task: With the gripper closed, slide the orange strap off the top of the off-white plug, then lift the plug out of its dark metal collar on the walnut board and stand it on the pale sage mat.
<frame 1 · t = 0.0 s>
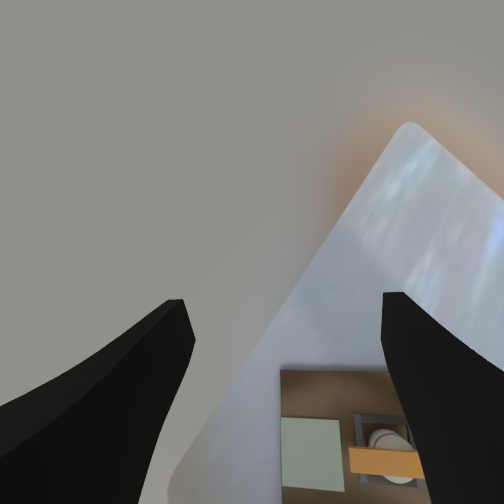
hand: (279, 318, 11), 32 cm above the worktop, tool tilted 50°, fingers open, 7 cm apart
board: (361, 443, 35), on the worktop
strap: (413, 463, 28), point 7 cm above the worktop, slide at 0.0 cm
plug: (385, 447, 34), point 1 cm above the worktop, touching board
sage mat: (310, 451, 35), resting on board
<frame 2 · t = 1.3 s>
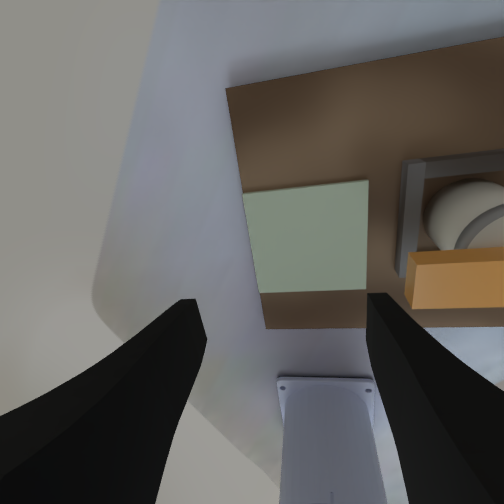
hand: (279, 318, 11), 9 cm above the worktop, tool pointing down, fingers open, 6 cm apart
board: (407, 212, 18), on the worktop
plug: (463, 214, 16), point 1 cm above the worktop, touching board
sage mat: (306, 241, 18), resting on board
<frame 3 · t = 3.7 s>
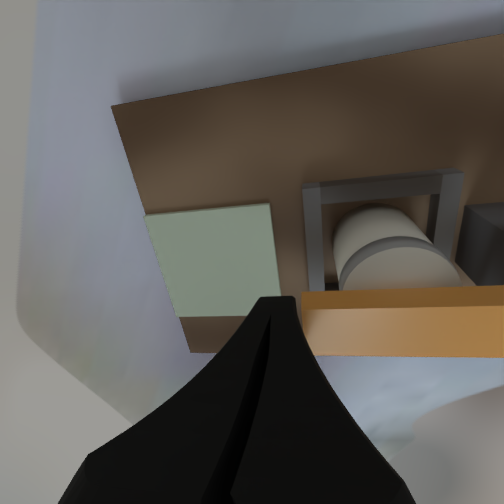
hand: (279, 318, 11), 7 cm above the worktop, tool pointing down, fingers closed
board: (321, 235, 16), on the worktop
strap: (491, 321, 9), point 7 cm above the worktop, slide at 1.0 cm, touching gripper
plug: (371, 240, 15), point 1 cm above the worktop, touching board
sage mat: (217, 265, 17), resting on board
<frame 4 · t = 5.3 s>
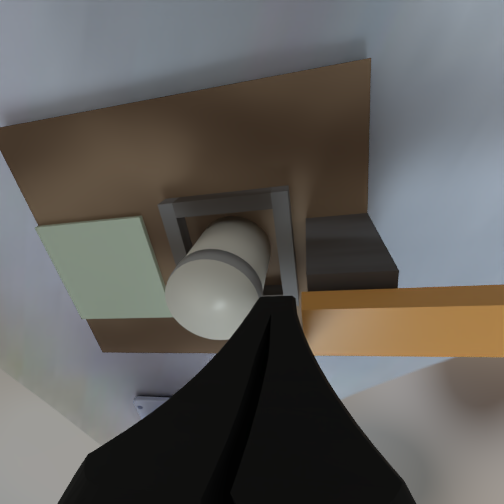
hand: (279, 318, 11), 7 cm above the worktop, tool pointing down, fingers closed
board: (199, 244, 18), on the worktop
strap: (491, 321, 9), point 7 cm above the worktop, slide at 8.3 cm, touching gripper
plug: (235, 249, 17), point 1 cm above the worktop, touching board
sage mat: (109, 272, 19), resting on board
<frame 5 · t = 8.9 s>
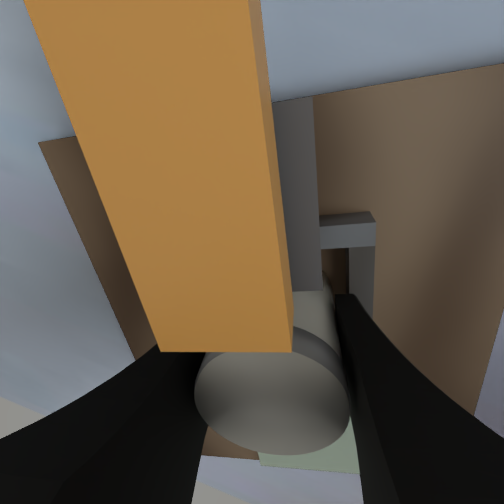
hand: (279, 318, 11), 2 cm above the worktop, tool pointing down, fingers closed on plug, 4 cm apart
board: (288, 326, 14), on the worktop
plug: (281, 295, 12), point 1 cm above the worktop, touching board, gripper
sage mat: (317, 427, 15), resting on board
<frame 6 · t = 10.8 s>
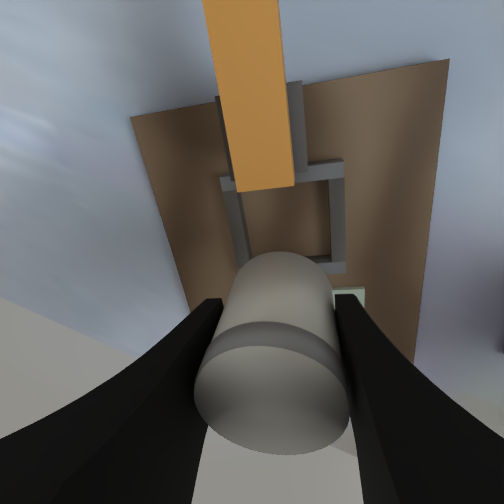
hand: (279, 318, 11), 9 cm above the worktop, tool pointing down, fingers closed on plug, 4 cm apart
board: (291, 250, 20), on the worktop
plug: (281, 295, 12), point 8 cm above the worktop, touching gripper
sage mat: (312, 328, 21), resting on board
when the fingers open (4 cm above the worktop, at t = 12.9 s): plug drops 1 cm, resting on sage mat.
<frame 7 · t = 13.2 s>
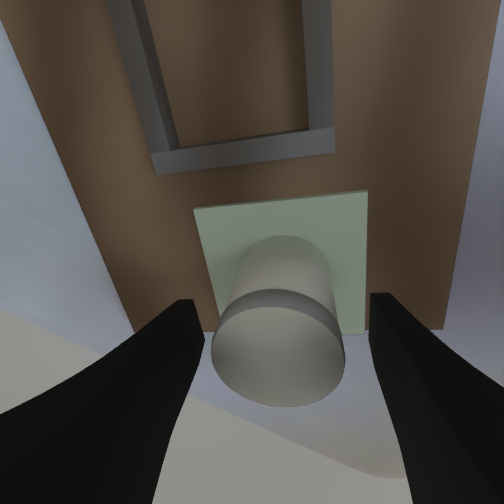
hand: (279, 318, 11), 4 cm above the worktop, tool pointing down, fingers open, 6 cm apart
board: (246, 134, 12), on the worktop
plug: (284, 275, 13), point 1 cm above the worktop, touching sage mat
sage mat: (284, 272, 14), resting on board
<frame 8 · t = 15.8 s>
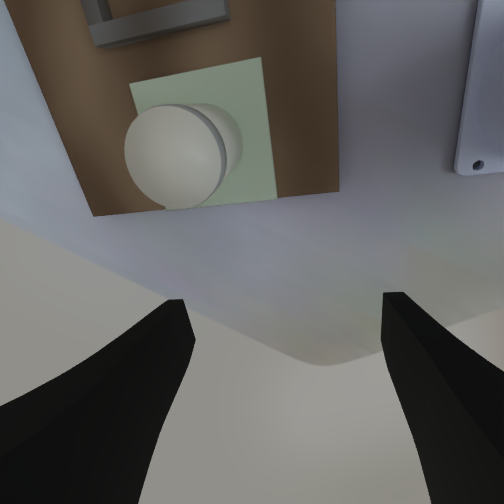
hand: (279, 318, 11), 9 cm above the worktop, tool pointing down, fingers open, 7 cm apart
board: (169, 19, 15), on the worktop
plug: (207, 144, 16), point 1 cm above the worktop, touching sage mat
sage mat: (208, 143, 16), resting on board
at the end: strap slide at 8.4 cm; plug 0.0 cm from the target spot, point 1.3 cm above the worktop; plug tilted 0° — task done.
